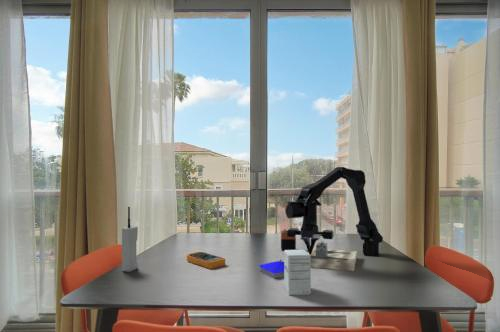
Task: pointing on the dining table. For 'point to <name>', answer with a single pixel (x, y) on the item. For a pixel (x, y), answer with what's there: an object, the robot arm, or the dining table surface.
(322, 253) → the switch tab
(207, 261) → the multimeter
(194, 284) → the dining table surface
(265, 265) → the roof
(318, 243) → the switch tab
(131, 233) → the vintage mobile phone
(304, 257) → the supplement box
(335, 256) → the switch board
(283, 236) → the battery
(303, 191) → the robot arm
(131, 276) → the dining table surface
